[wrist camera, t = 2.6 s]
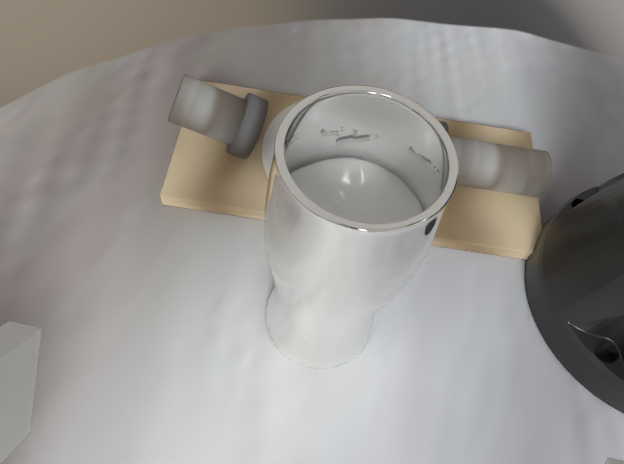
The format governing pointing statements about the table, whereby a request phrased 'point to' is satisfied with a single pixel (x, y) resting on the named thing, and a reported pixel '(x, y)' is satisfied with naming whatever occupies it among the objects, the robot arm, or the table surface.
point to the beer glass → (349, 215)
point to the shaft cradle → (260, 149)
